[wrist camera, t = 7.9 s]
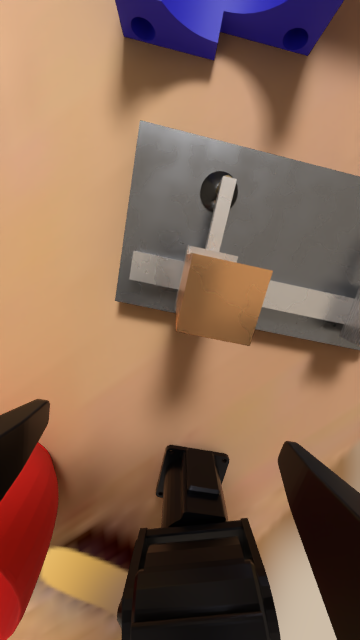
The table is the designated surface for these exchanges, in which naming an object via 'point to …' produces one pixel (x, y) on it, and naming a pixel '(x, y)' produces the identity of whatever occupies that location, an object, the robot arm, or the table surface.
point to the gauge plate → (246, 230)
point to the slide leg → (219, 284)
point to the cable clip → (226, 22)
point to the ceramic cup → (25, 535)
